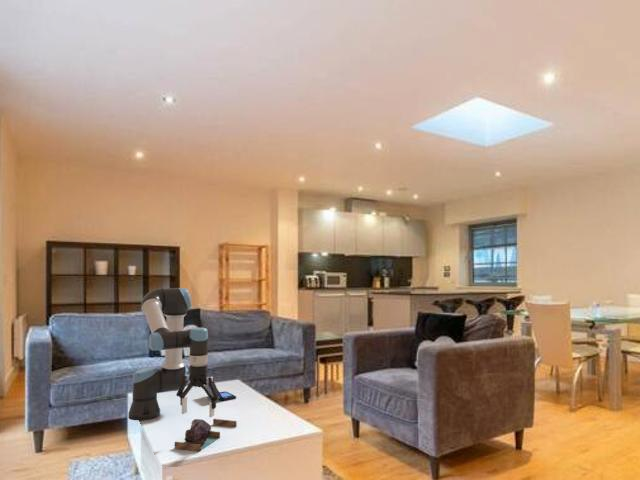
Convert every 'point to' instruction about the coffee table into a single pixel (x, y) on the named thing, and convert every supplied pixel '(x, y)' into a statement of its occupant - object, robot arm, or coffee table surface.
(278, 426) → the coffee table surface
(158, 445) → the coffee table surface
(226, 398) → the handheld game console
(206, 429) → the rock
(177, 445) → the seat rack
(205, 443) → the marked pad
